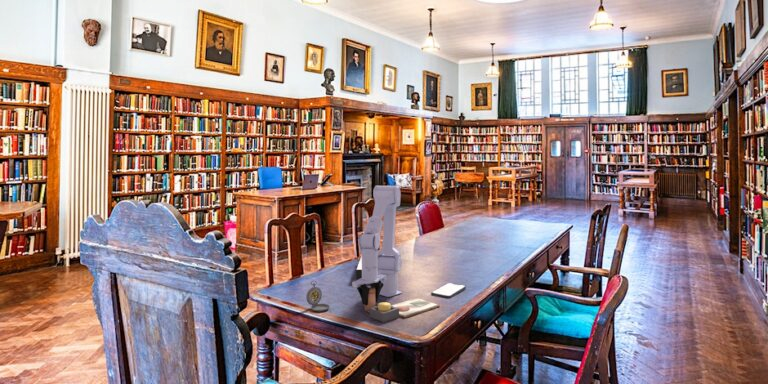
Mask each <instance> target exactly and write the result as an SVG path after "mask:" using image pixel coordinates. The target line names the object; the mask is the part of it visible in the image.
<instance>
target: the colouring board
mask: <svg viewBox="0 0 768 384" xmlns="http://www.w3.org/2000/svg"><path fill="white" fill-rule="evenodd" d="M391 306H393V307H396V308H399V317H398V318H401V319H408V318H411V317H414V316H417V315H420V314H423V313H425V312H428V311H432V310H434V309H437V308H440V304H437V303H434V302H431V301H427V300H425V299H422V298H418V297H414V298H411V299H408V300H405V301H401V302H399V303H394V304H392V305H391Z"/></svg>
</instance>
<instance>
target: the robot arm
mask: <svg viewBox="0 0 768 384" xmlns="http://www.w3.org/2000/svg"><path fill="white" fill-rule="evenodd" d="M372 192H373V193H372V195H373V199H374V207H373V211H372V215H371V216H370V217H368V219H367V223H366V225H365V229H364V232H363V233H362V234H360V236H359V237H358V247H359V252H360V255H361V256H362V278H360V279H358V280H356V279H355V280H354V281H352V283H351V286H352V288H354V289H357V291H358V293H359V296H360V299H361V303H362V305H363V306H365V305H368V294H369V290H370V288H369V287H375V297H376V304H378V300H379V296H383V297H385V298H386V297H387V298H389V297H390V298H391V297H394V296H397V295H401V294H403V292H402V291H400V290H398V272H401V271H400V270H401V269H402V253H401V252H400V251H399V250H398V249H396V248H395V245H396V244H395V241H396V238H395V236H396V218H397V217H396V216H397V215H396V214H397V207H400V206H401V197H402V196H401V195H402V193H401V188H400V187H399V186H398V185H375V186H374V188H373V191H372ZM382 218H383V219H382ZM381 231H382V248H380V246H381ZM379 248H380V249H379ZM368 285H370V286H368Z"/></svg>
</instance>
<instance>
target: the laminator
mask: <svg viewBox="0 0 768 384" xmlns="http://www.w3.org/2000/svg"><path fill="white" fill-rule="evenodd" d="M360 278H362V255H361V256H360V259H359V261H358V265H357V267H356V270H355V281H356V280H358V279H360Z"/></svg>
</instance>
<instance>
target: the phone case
mask: <svg viewBox="0 0 768 384" xmlns="http://www.w3.org/2000/svg"><path fill="white" fill-rule="evenodd" d="M466 289H467V286H466V285H462V284H456V283H451V282H449V283H445V284H444V285H442V286H440V287H438V288H437V289H435V290H433V291H431V293H430V294H431V296H434V297H438V298H444V299H452V298H453V297H455V296H457V295H458V294H460V293H462V292H463V291H465V290H466Z"/></svg>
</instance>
